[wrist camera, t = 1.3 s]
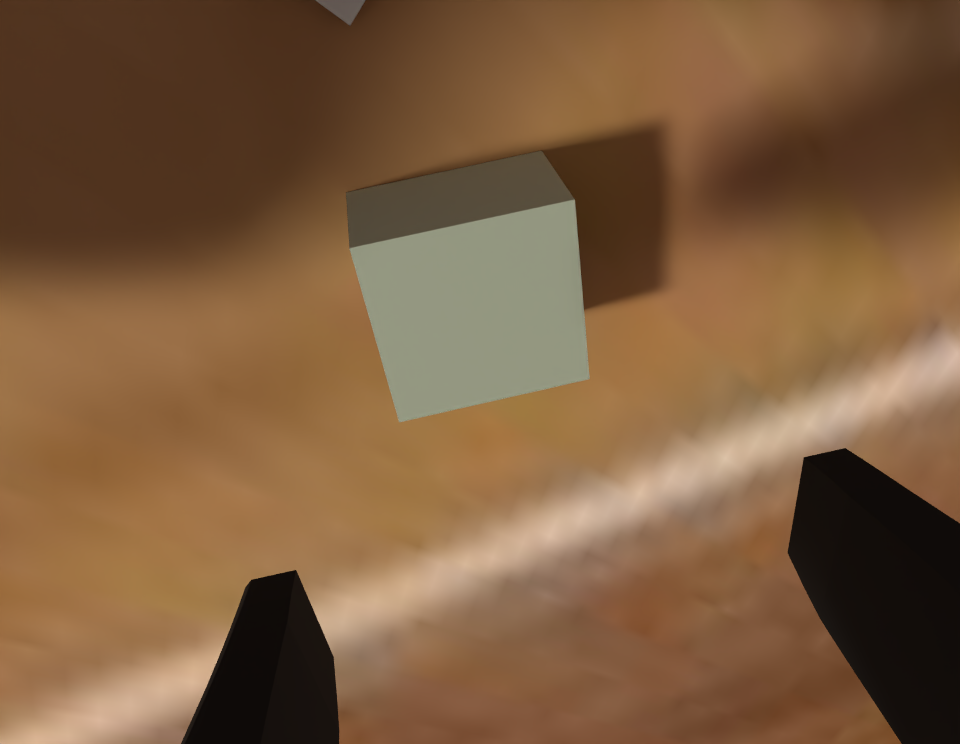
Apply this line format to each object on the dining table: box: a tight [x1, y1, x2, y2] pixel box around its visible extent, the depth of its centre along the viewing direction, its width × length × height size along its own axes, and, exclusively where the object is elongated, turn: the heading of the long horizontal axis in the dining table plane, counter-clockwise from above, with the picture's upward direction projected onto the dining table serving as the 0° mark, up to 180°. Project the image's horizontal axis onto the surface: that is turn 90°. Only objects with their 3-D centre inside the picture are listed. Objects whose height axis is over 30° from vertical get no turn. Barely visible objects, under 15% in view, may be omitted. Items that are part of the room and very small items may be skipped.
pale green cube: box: [346, 151, 589, 422], centre depth 17 cm, size 4×4×3 cm
